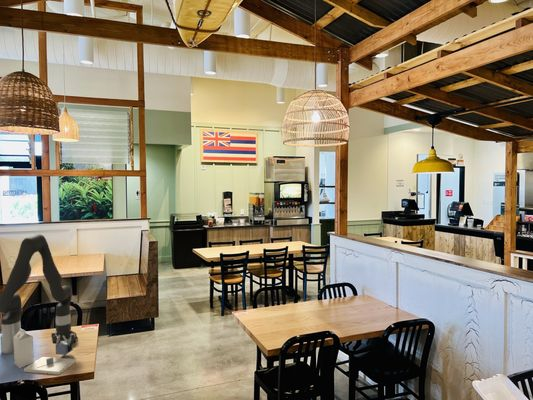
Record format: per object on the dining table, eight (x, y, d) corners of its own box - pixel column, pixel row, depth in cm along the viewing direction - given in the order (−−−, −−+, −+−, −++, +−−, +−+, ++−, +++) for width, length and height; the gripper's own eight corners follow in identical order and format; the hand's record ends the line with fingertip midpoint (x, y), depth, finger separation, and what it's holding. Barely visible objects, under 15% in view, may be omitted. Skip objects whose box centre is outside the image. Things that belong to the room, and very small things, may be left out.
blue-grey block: (55, 354, 212) (55, 345, 212) (63, 349, 218) (62, 340, 218) (65, 355, 212) (65, 346, 211) (72, 350, 217) (72, 341, 217)
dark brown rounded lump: (82, 340, 236) (78, 332, 231) (69, 352, 229) (65, 344, 225) (69, 332, 241) (65, 324, 236) (56, 343, 234) (52, 335, 229)
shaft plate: (24, 371, 199) (23, 362, 198) (42, 359, 211) (41, 351, 211) (58, 374, 196) (58, 365, 195) (75, 362, 208) (74, 353, 208)
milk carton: (29, 359, 212) (27, 325, 211) (34, 363, 207) (32, 329, 206) (14, 364, 206) (12, 329, 205) (19, 368, 202) (17, 333, 201)
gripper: (46, 324, 211) (48, 353, 212) (70, 325, 209) (71, 355, 210) (56, 318, 218) (57, 347, 220) (79, 320, 216) (80, 349, 218)
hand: (64, 350), depth 215 cm, fingers closed on blue-grey block, 6 cm apart
